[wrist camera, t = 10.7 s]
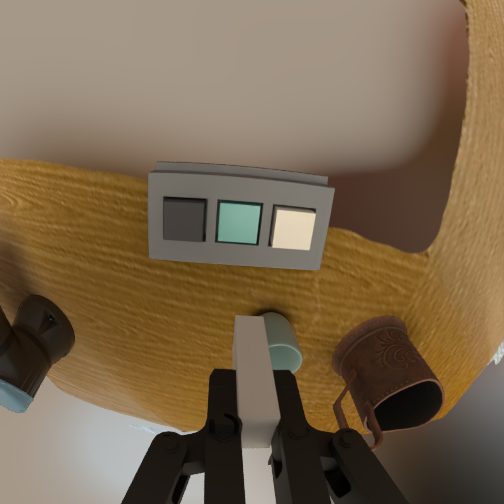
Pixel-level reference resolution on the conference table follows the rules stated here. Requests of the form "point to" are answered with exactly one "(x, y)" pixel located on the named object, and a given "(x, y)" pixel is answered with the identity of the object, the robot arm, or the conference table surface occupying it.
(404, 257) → the conference table surface
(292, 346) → the cup
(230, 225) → the teal key
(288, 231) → the ivory key
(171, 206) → the black key
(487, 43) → the conference table surface
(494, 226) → the conference table surface
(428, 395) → the cup holder
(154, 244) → the console
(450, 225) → the conference table surface
